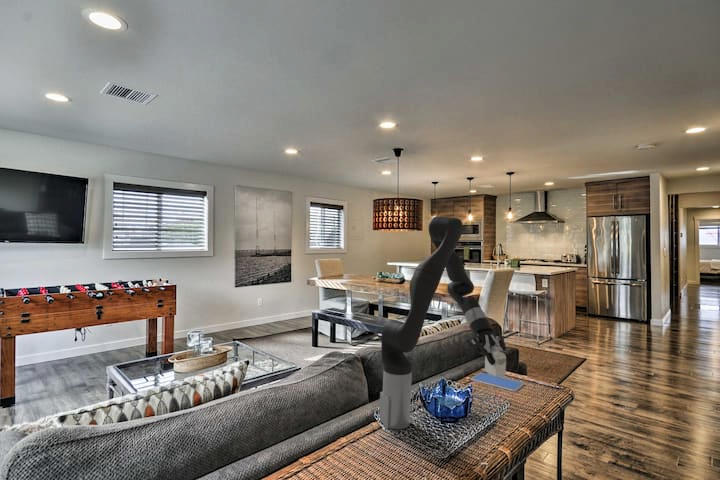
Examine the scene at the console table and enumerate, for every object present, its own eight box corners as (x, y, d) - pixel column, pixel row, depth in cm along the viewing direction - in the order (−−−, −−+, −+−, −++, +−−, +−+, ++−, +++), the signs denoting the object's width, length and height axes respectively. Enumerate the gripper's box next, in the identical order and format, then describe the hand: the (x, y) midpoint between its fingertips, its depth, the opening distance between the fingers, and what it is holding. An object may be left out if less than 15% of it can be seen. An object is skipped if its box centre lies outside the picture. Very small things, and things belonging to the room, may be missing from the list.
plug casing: (495, 376, 132) (496, 349, 132) (484, 371, 138) (485, 345, 138) (505, 375, 134) (506, 348, 134) (494, 370, 139) (495, 344, 139)
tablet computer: (470, 381, 167) (470, 378, 167) (481, 374, 177) (481, 371, 177) (514, 393, 154) (515, 390, 154) (524, 385, 164) (524, 382, 164)
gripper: (467, 317, 140) (488, 359, 129) (498, 315, 146) (520, 356, 134) (458, 328, 145) (477, 370, 134) (487, 326, 150) (509, 366, 139)
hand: (499, 363), depth 134 cm, fingers closed on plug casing, 4 cm apart
